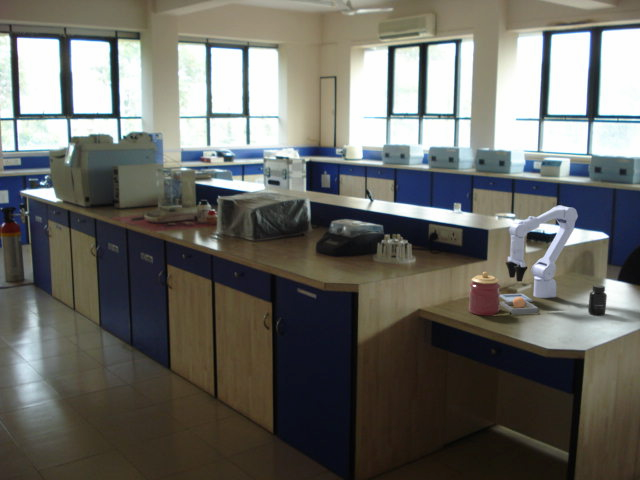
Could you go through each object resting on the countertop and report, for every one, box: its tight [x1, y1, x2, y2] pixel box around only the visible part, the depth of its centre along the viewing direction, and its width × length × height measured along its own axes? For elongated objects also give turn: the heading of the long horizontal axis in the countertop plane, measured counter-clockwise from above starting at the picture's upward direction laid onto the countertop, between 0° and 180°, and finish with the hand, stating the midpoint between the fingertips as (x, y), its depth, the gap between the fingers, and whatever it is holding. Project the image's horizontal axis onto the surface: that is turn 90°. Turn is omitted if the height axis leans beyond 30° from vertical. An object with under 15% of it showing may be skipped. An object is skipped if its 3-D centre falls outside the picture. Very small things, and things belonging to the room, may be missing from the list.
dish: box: [500, 293, 534, 303], centre depth 307 cm, size 11×11×2 cm
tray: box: [499, 301, 540, 315], centre depth 293 cm, size 12×12×2 cm
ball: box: [512, 297, 525, 308], centre depth 293 cm, size 5×5×5 cm
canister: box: [468, 271, 501, 316], centre depth 289 cm, size 13×13×18 cm
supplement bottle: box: [587, 284, 608, 316], centre depth 286 cm, size 7×7×12 cm
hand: (515, 279), depth 307 cm, fingers open, 7 cm apart
